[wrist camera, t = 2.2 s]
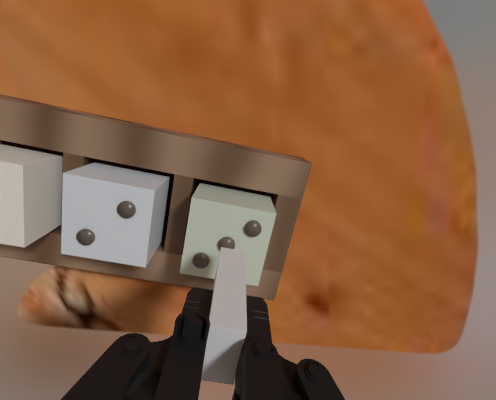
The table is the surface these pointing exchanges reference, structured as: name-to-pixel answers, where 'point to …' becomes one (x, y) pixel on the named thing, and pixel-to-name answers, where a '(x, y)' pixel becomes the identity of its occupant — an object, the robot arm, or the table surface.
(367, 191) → the table surface
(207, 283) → the board
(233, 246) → the die
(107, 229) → the die
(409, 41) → the table surface
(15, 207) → the die
